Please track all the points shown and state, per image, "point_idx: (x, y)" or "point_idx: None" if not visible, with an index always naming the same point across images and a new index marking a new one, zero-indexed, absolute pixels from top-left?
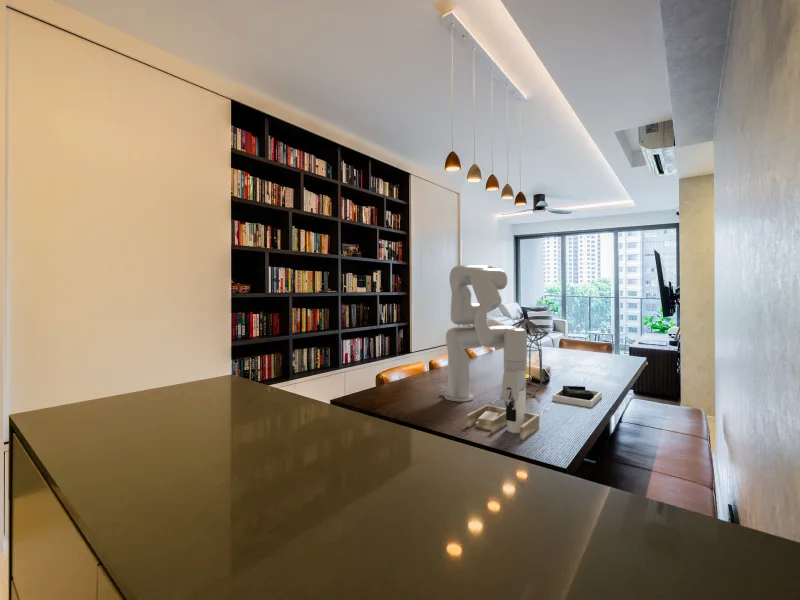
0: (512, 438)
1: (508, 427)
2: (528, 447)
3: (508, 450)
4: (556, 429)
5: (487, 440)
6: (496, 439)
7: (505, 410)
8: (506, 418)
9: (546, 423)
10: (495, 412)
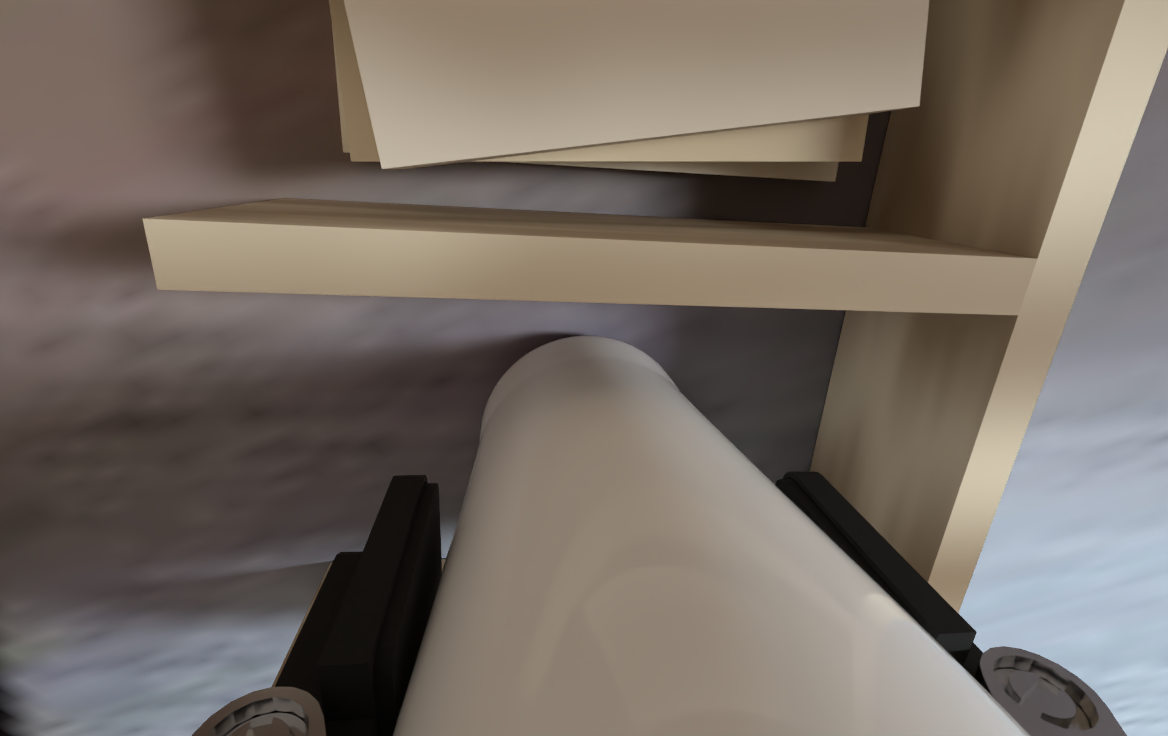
0: (383, 464)
1: (495, 407)
2: (264, 658)
3: (10, 558)
4: None
5: (61, 241)
6: (201, 327)
7: (1032, 202)
8: (389, 492)
9: (1022, 563)
10: (919, 14)
